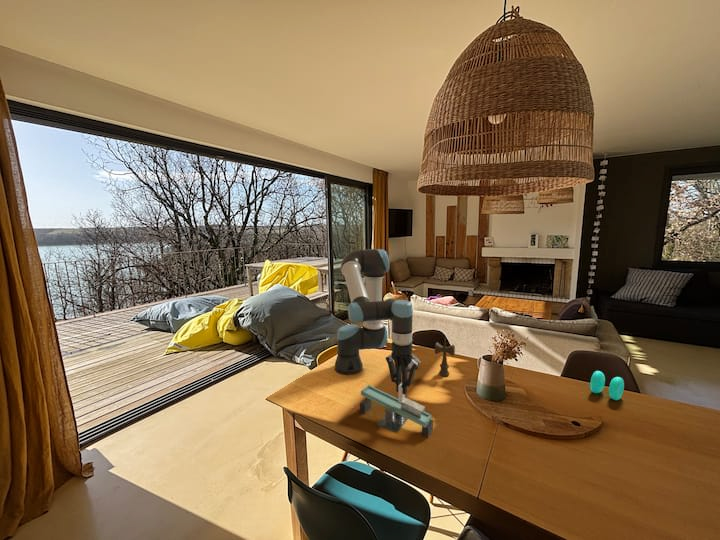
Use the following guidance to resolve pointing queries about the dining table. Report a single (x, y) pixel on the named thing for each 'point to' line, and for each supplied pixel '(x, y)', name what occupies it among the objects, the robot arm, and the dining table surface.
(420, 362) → the decorative stone
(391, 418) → the stand
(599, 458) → the dining table surface
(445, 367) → the kendama
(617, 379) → the teal egg pair
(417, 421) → the beam
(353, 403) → the dining table surface
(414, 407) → the block
